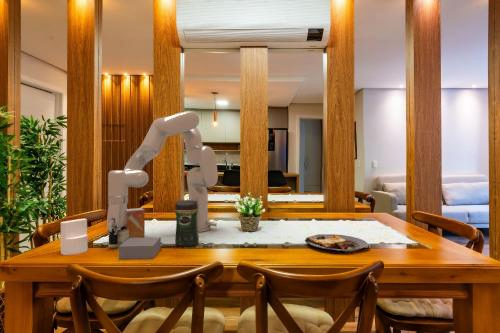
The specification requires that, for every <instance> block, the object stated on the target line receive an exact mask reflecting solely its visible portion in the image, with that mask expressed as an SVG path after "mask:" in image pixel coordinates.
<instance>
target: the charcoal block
mask: <svg viewBox="0 0 500 333" xmlns="http://www.w3.org/2000/svg"><path fill="white" fill-rule="evenodd" d="M161 244H162V243H161V237H159V236H158V237H156V236H155V237H145V238H129V239H128V240H126V241H125V242H124V243H123V244H121V245H120V246H119V247H118V260H149V259H151V260H152V259H153V260H154V258H155V257H156V255H157V254H158V253H159V252H160V251H161V246H162V245H161Z"/></svg>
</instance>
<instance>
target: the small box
mask: <svg viewBox="0 0 500 333" xmlns="http://www.w3.org/2000/svg"><path fill="white" fill-rule="evenodd" d="M145 216H146V215H145V209H144V208H142V207H139V208H129V209H128V208H127V230H129V238H146V237H145V233H146V232H145V229H146V228H145V220H146V219H145Z"/></svg>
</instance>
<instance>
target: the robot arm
mask: <svg viewBox="0 0 500 333" xmlns="http://www.w3.org/2000/svg"><path fill="white" fill-rule="evenodd" d="M199 123H200V117H199V114H197V113H196V112H195V111H193V110H188V111H181V112H176V113H174V114H172V115H168V116H164V117H158V118H156V119H155V120H154V121H153V122H152V123H151V125H150V127H149V129H148V130H147V131H148V132H147V133H146V136H145V137H144V138H143V141H142V143H141V145H140V146H139V147H138V148H137V150H135V152H134V153H133V154H132V155H131V157H130V158H129V159H128V160H127V162H126V165H125V167H124V168H123V170H122V169H121V170H120V169H119V170H118V169H117V170H116V169H115V170H110V171H109V172H108V175H107V177H108V178H107V180H108V181H107V182H108V186H107V187H108V189H107V190H108V191H107V194H108V195H107V197H108V199H107V200H108V201H107V202H108V203H107V204H108V208H107V218H106V220H107V222H106V227H107V232H108V245H109V244H110V245H116V244H118V234H117V231H118V230H127V209H128V204H129V187H130V188H143V187H144V186H146V185H147V184H148V182H149V179H150V178H149V175H148V173H147V172H146V171H144V170H143V168H145V166H146V165H147V163H149V162H150V161H151V160H153V159H154V158H156V157H157V156H158V155H160V153H161V150H162V149H163V146H164V144H165V143H166V140H167V139H168V137H170V136H176V135H179V134H181V136H182V137H183V141H184V146H185V154H186V160H187V162H188V164H190V165H192V166H198V167H192V168H191V169H190V170H188V172H187V174H186V182H187V188H188V200H194V201H197V205H198V212H197V229H198V233H202V232H203V233H204V232H208V231H210V230H212V227H217V222H215V221H210V220H209V214H208V213H209V210H208V209H209V208H208V207H209V204H208V203H209V202H208V201H209V195H208V189H207V188H212V187H214V186H216V184H217V183H218V179H219V174H218V165H217V157H216V153H215V151H214V149H213V148H212V147H211V146H208V145H204V144H203V140H202V134H201V132H200V130H199V129H198V128H197V127H198V126H199ZM114 230H115V231H114Z"/></svg>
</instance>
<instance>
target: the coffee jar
mask: <svg viewBox="0 0 500 333" xmlns="http://www.w3.org/2000/svg"><path fill="white" fill-rule="evenodd" d="M197 212H198V205H197V201H194V200H189V199H188V200H185V199H184V200H183V199H182V200H177V201H176V202H175V205H174V213H175V214H174V215H175V217H176V220H175V222H176V224H175V238H174V244H175V245H176V246H178V247H179V246H180V247H190V246H195V245H198V243H199V241H200V239H199V232H198V229H197Z"/></svg>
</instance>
